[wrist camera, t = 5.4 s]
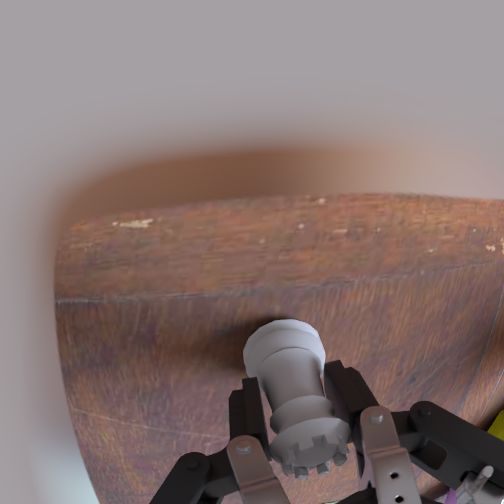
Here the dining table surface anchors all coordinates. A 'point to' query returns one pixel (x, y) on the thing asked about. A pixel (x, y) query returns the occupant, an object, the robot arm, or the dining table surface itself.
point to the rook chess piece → (296, 397)
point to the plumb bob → (498, 426)
